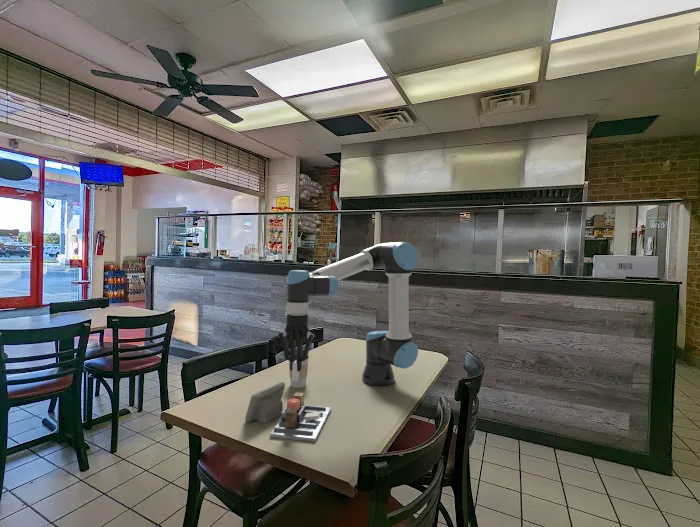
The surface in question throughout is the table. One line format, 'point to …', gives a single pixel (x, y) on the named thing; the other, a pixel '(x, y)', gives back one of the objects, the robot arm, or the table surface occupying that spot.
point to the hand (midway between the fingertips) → (295, 379)
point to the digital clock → (266, 404)
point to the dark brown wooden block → (291, 418)
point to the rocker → (312, 416)
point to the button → (293, 404)
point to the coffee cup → (300, 374)
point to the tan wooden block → (299, 397)
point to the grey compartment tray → (302, 425)
